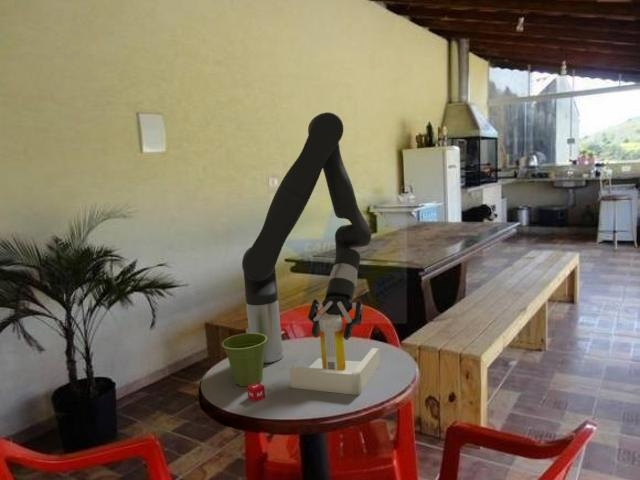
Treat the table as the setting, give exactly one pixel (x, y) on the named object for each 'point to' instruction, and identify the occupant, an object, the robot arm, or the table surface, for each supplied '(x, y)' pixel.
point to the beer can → (332, 342)
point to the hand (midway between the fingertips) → (330, 337)
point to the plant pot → (246, 357)
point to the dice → (256, 392)
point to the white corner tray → (337, 375)
